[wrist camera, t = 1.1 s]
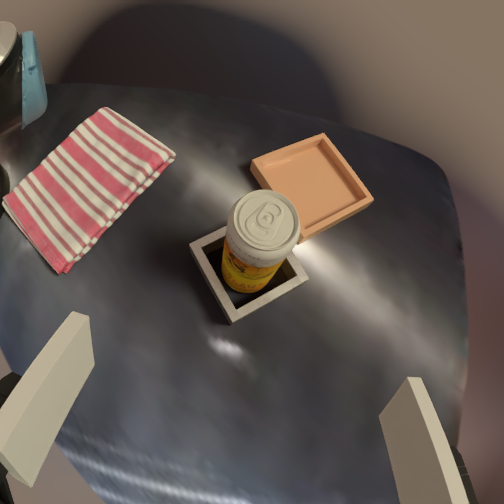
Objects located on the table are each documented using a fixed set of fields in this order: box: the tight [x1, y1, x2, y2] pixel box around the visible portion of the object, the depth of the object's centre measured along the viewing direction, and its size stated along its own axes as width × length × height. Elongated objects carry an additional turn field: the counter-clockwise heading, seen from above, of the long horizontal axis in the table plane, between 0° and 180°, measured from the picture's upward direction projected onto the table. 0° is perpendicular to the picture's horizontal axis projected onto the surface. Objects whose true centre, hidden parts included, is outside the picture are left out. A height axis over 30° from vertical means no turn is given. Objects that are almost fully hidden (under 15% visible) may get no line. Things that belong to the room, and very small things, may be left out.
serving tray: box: [250, 133, 374, 244], centre depth 43 cm, size 13×13×2 cm
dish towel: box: [2, 107, 176, 274], centre depth 39 cm, size 17×23×4 cm
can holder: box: [189, 226, 309, 326], centre depth 38 cm, size 10×10×4 cm
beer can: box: [221, 190, 300, 293], centre depth 32 cm, size 6×6×15 cm
